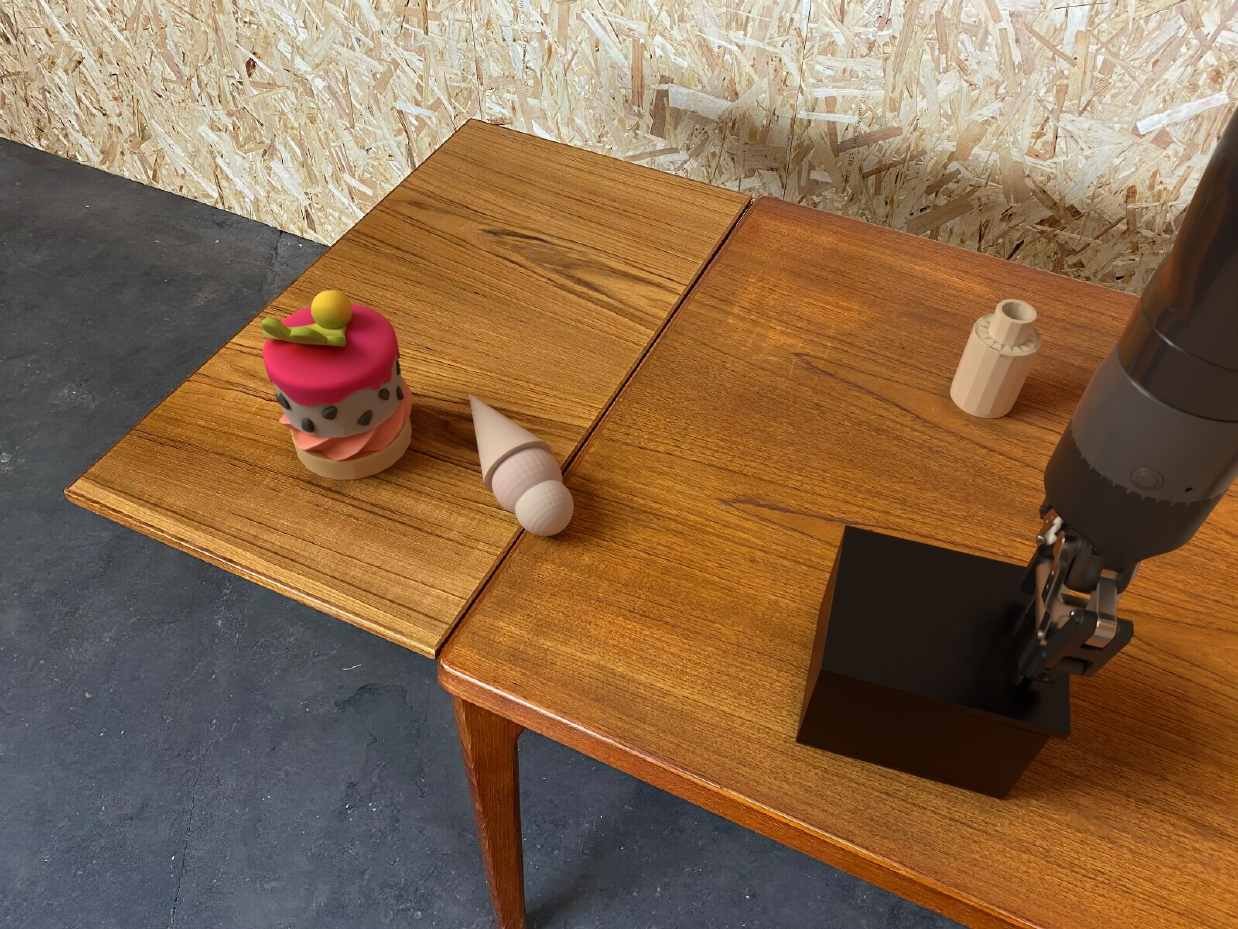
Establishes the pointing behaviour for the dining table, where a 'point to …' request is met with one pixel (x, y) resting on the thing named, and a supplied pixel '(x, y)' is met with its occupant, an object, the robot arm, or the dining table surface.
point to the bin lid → (941, 630)
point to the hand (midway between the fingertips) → (1035, 630)
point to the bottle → (996, 360)
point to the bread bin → (910, 730)
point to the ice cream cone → (521, 472)
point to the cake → (339, 386)
